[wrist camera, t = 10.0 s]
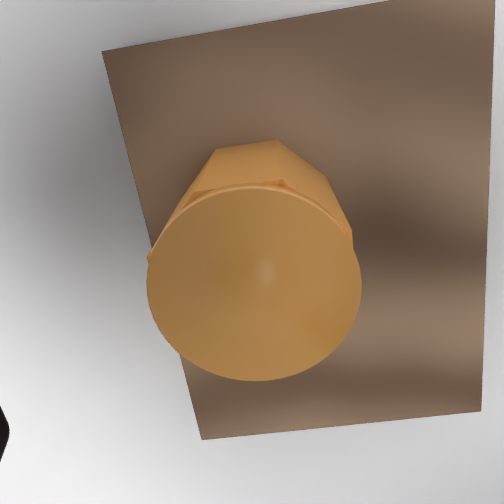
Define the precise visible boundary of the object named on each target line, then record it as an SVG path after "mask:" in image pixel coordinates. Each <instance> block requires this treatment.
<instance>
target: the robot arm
mask: <svg viewBox="0 0 504 504" xmlns="http://www.w3.org/2000/svg"><path fill="white" fill-rule="evenodd" d="M8 438H9V424H8V422H7V420H6V417H5V415H4V413H3V411H2V409H1V406H0V461H1V458H2V456H3V453H4V450H5V447H6V445H7V442H8Z"/></svg>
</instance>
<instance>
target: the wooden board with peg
mask: <svg viewBox="0 0 504 504" xmlns="http://www.w3.org/2000/svg"><path fill="white" fill-rule="evenodd" d="M494 20H495V0H389V1H384V2H378V3H372V4H367V5H361V6H355V7H350V8H344V9H338V10H333V11H327V12H321V13H316V14H310V15H304V16H299V17H293V18H287V19H282V20H276V21H271V22H265V23H259V24H254V25H248V26H242V27H237V28H231V29H225V30H220V31H214V32H208V33H203V34H197V35H191V36H186V37H180V38H175V39H169V40H163V41H158V42H152V43H146V44H141V45H135V46H129V47H124V48H118V49H112V50H107V51H102V55H103V59H104V63H105V66H106V70H107V74H108V78H109V82H110V86H111V90H112V94H113V97H114V101H115V105H116V109H117V113H118V117H119V121H120V125H121V129H122V132H123V136H124V140H125V144H126V148H127V152H128V156H129V160H130V163H131V167H132V171H133V175H134V179H135V183H136V187H137V191H138V194H139V198H140V202H141V206H142V210H143V214H144V218H145V222H146V226H147V229H148V233H149V237H150V241H151V245H152V248H153V246H154V244H155V243H156V241H157V239H158V238H159V236H160V234H161V232H162V231H163V229H164V227H165V225H166V224H167V222H168V220H169V219H170V217H171V215H172V213H173V212H174V210H175V208H176V207H177V205H178V203H179V201H180V200H181V198H182V196H183V195H184V194H185V193H186V191H187V190H188V188H189V187H190V185H191V184H192V183H193V181H194V180H195V178H196V177H197V175H198V174H199V173H200V171H201V170H202V168H203V167H204V165H205V164H206V163H207V161H208V160H209V158H210V157H211V155H212V154H213V153H214V151H215V149H219V148H225V147H232V146H238V145H245V144H252V143H258V142H265V141H271V140H278V141H280V142H281V143H282V144H284V145H285V146H286V147H287V148H289V149H290V150H291V151H293V152H294V153H295V154H297V155H298V156H299V157H301V158H302V159H303V160H305V161H306V162H307V163H309V164H310V165H311V166H313V167H314V168H315V169H316V170H318V171H319V172H320V173H322V174H323V175H324V176H326V178H327V180H328V182H329V184H330V186H331V188H332V190H333V193H334V195H335V197H336V199H337V201H338V203H339V205H340V207H341V209H342V211H343V213H344V215H345V217H346V219H347V221H348V223H349V225H350V227H351V229H352V238H353V250H354V252H355V254H356V257H357V260H358V264H359V267H360V273H361V280H362V293H361V300H360V306H359V309H358V313H357V316H356V319H355V321H354V323H353V325H352V327H351V329H350V331H349V332H348V334H347V335H346V337H345V338H344V340H343V341H342V342H341V343H340V344H339V346H338V347H337V348H336V349H335V350H334V351H333V352H332V353H331V354H329V355H328V356H327V357H326V358H325V359H323V360H322V361H320V362H319V363H318V364H316V365H314V366H312V367H310V368H309V369H307V370H305V371H302V372H300V373H297V374H295V375H292V376H288V377H285V378H281V379H275V380H269V381H242V380H236V379H230V378H226V377H222V376H219V375H216V374H213V373H211V372H208V371H206V370H204V369H202V368H200V367H198V366H196V365H194V364H193V363H192V362H190V361H189V360H187V359H186V358H184V357H183V356H182V355H181V354H180V353H179V354H180V357H181V361H182V365H183V369H184V373H185V377H186V381H187V385H188V388H189V392H190V396H191V400H192V404H193V408H194V412H195V416H196V420H197V423H198V427H199V431H200V435H201V439H202V440H208V439H217V438H227V437H237V436H247V435H256V434H266V433H276V432H285V431H295V430H305V429H314V428H324V427H334V426H344V425H353V424H363V423H373V422H382V421H392V420H402V419H411V418H421V417H431V416H440V415H450V414H460V413H470V412H479V411H481V401H482V372H483V342H484V313H485V284H486V254H487V225H488V196H489V166H490V137H491V108H492V78H493V49H494Z"/></svg>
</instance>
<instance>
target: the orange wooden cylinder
mask: <svg viewBox="0 0 504 504" xmlns="http://www.w3.org/2000/svg"><path fill="white" fill-rule="evenodd" d="M147 259H148V263H149V267H148V273H147V296H148V301H149V306H150V309H151V312H152V315H153V318H154V320H155V322H156V324H157V326H158V328H159V330H160V331H161V333H162V334H163V336H164V337H165V339H166V340H167V341H168V342H169V343H170V344H171V346H172V347H173V348H174V349H175V350H176V351H177V352H178V353H180V354H181V355H182V356H183V357H184V358H186V359H187V360H189V361H190V362H192V363H193V364H194V365H196V366H198V367H200V368H202V369H204V370H206V371H208V372H211V373H213V374H216V375H219V376H222V377H226V378H230V379H236V380H242V381H269V380H275V379H281V378H285V377H288V376H292V375H295V374H297V373H300V372H302V371H305V370H307V369H309V368H310V367H312V366H314V365H316V364H318V363H319V362H320V361H322V360H323V359H325V358H326V357H327V356H328V355H329V354H331V353H332V352H333V351H334V350H335V349H336V348H337V347H338V346H339V344H340V343H341V342H342V341H343V340H344V338H345V337H346V335H347V334H348V332H349V331H350V329H351V327H352V325H353V323H354V321H355V319H356V316H357V313H358V309H359V306H360V300H361V293H362V280H361V273H360V267H359V264H358V260H357V257H356V254H355V252H354V250H353V238H352V229H351V227H350V225H349V223H348V221H347V219H346V217H345V215H344V213H343V211H342V209H341V207H340V205H339V203H338V201H337V199H336V197H335V195H334V193H333V190H332V188H331V186H330V184H329V182H328V180H327V178H326V176H324V175H323V174H322V173H320V172H319V171H318V170H316V169H315V168H314V167H313V166H311V165H310V164H309V163H307V162H306V161H305V160H303V159H302V158H301V157H299V156H298V155H297V154H295V153H294V152H293V151H291V150H290V149H289V148H287V147H286V146H285V145H284V144H282V143H281V142H280V141H278V140H271V141H265V142H258V143H252V144H245V145H238V146H232V147H225V148H219V149H215V151H214V153H213V154H212V155H211V157H210V158H209V160H208V161H207V163H206V164H205V165H204V167H203V168H202V170H201V171H200V173H199V174H198V175H197V177H196V178H195V180H194V181H193V183H192V184H191V185H190V187H189V188H188V190H187V191H186V193H185V194H184V195H183V196H182V198H181V200H180V201H179V203H178V205H177V207H176V208H175V210H174V212H173V213H172V215H171V217H170V219H169V220H168V222H167V224H166V225H165V227H164V229H163V231H162V232H161V234H160V236H159V238H158V239H157V241H156V243H155V244H154V246H153V248H152V250H151V251H150V253H149V255H148V256H147Z"/></svg>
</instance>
